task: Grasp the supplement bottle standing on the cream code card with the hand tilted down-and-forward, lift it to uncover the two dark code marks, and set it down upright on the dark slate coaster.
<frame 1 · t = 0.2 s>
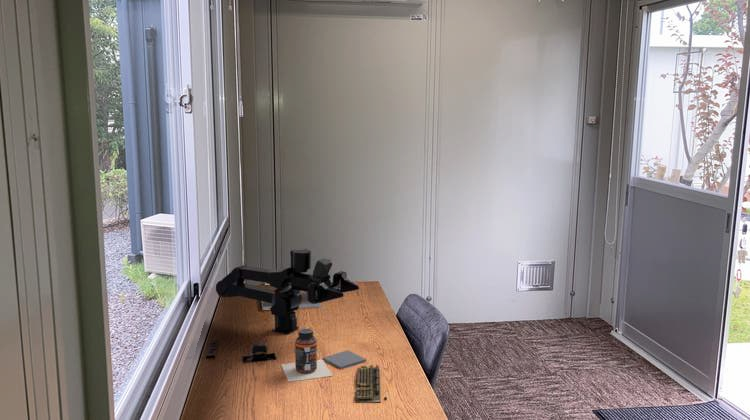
hand: (351, 291, 187), 17 cm above the table, tool horizontal, fingers open, 9 cm apart
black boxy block: (259, 360, 178), on the table
supplement bottle: (306, 370, 169), resting on code card
picture frame: (290, 304, 233), on the table
code card: (306, 370, 169), on the table
keyboard: (370, 387, 161), on the table
slate coaster: (344, 360, 176), on the table
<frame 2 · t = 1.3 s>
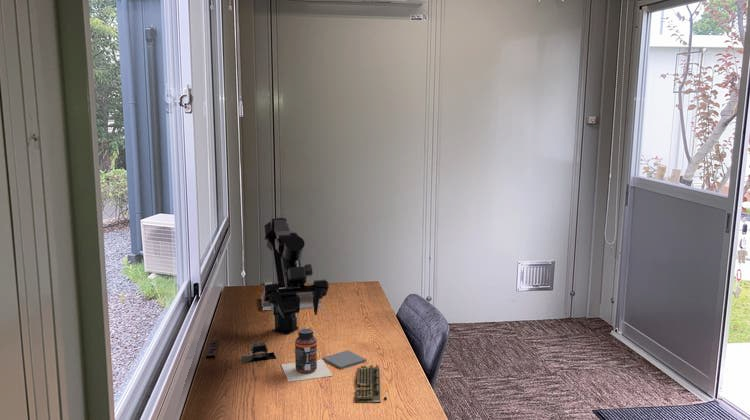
hand: (300, 316, 175), 13 cm above the table, tool tilted 45°, fingers open, 9 cm apart
nothing on the table moved.
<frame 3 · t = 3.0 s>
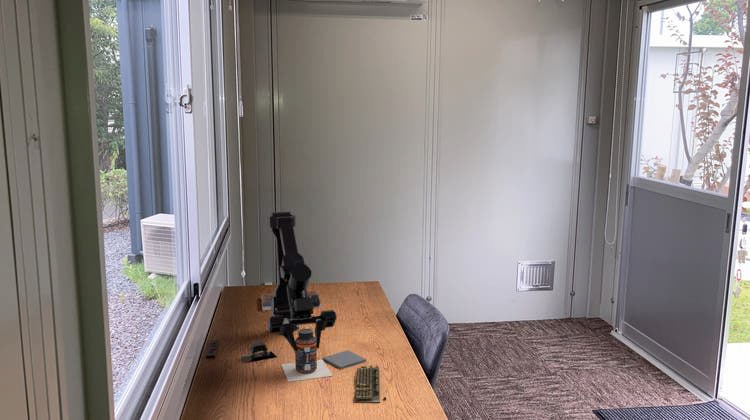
hand: (307, 349, 167), 7 cm above the table, tool tilted 45°, fingers closed on supplement bottle, 6 cm apart
supplement bottle: (306, 370, 169), resting on code card, touching gripper
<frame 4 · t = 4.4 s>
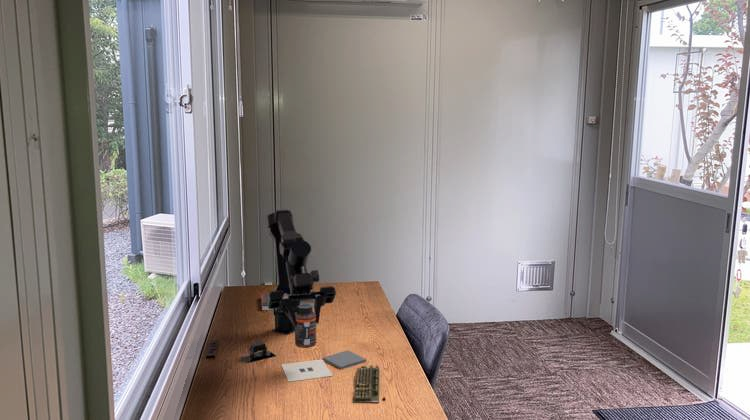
hand: (306, 324, 167), 13 cm above the table, tool tilted 45°, fingers closed on supplement bottle, 6 cm apart
supplement bottle: (305, 345, 170), point 7 cm above the table, touching gripper
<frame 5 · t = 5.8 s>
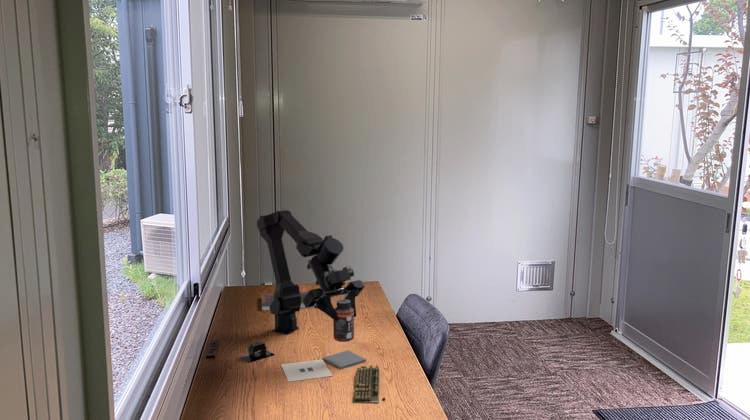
hand: (346, 318, 173), 13 cm above the table, tool tilted 45°, fingers closed on supplement bottle, 6 cm apart
supplement bottle: (343, 339, 176), point 6 cm above the table, touching gripper
when the fingers open (8 cm above the table, at t = 7.1 s): supplement bottle stays where it is, resting on slate coaster.
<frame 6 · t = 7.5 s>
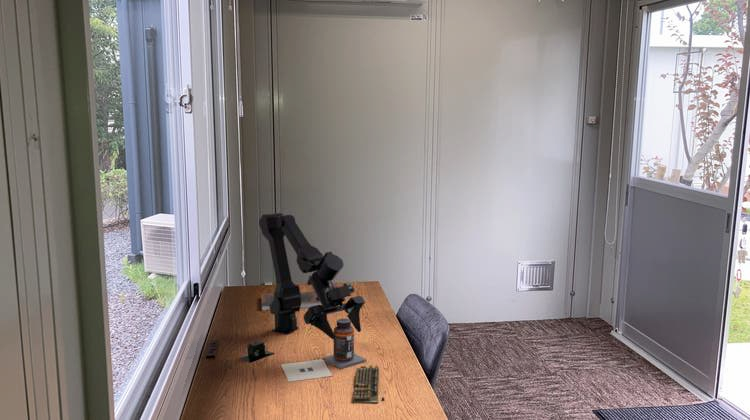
hand: (347, 334, 174), 8 cm above the table, tool tilted 45°, fingers open, 9 cm apart
supplement bottle: (343, 358, 176), resting on slate coaster
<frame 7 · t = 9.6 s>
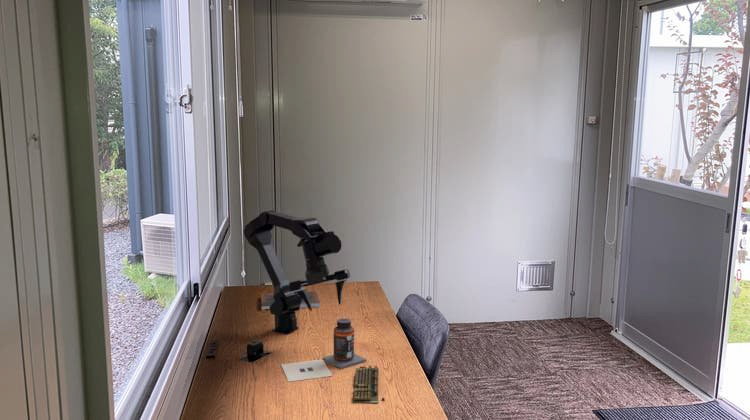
hand: (325, 307, 188), 12 cm above the table, tool tilted 15°, fingers open, 9 cm apart
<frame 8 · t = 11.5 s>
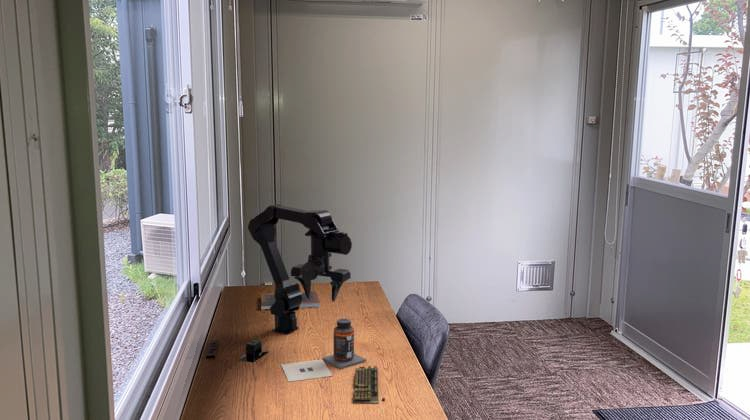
hand: (320, 299, 192), 13 cm above the table, tool pointing down, fingers open, 9 cm apart
at the end: supplement bottle 0.2 cm from the slate coaster (horizontally); supplement bottle tilted 0°; supplement bottle moved 12.5 cm from its start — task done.
